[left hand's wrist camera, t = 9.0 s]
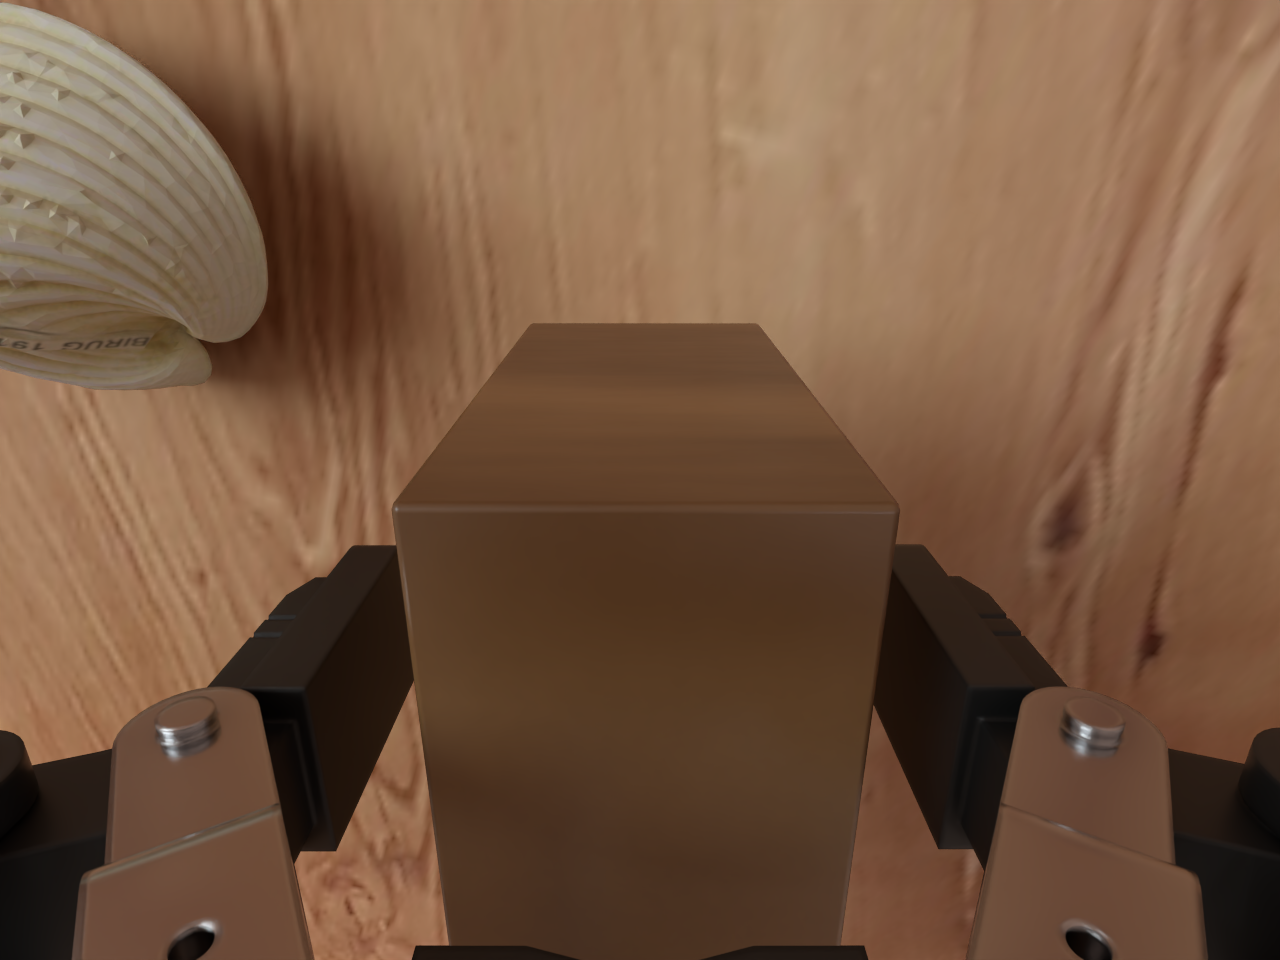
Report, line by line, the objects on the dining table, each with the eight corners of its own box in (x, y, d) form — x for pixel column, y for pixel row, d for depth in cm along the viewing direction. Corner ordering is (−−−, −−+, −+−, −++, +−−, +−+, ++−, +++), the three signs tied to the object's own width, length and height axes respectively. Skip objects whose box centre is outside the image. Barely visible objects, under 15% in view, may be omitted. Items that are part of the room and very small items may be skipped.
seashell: (143, 489, 21) (-279, 356, 16) (214, 268, 25) (-100, 105, 20) (291, 354, 17) (-227, 105, 11) (346, 114, 21) (-12, -148, 16)
